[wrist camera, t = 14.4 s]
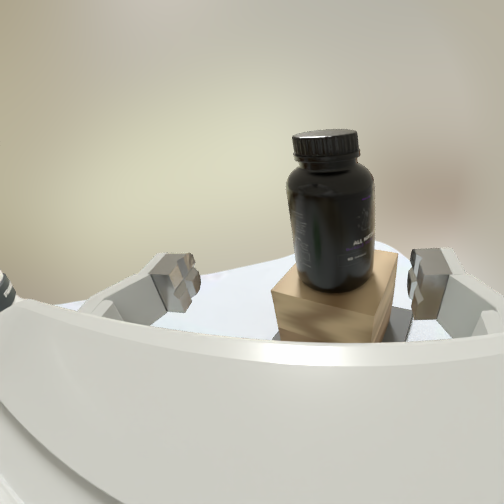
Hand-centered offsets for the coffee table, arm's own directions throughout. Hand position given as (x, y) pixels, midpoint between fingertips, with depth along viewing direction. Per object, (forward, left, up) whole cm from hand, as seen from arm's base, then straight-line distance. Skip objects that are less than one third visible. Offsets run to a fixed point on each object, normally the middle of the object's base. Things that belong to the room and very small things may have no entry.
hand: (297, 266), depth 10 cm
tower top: (-3, +12, -14) cm, 19 cm away
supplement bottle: (-4, +12, -9) cm, 16 cm away
